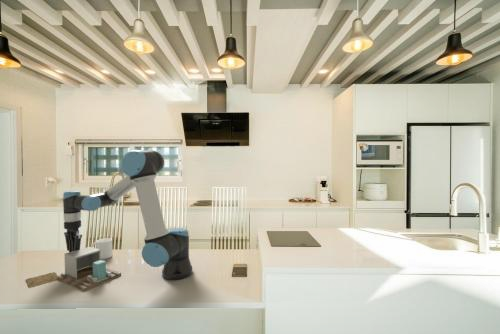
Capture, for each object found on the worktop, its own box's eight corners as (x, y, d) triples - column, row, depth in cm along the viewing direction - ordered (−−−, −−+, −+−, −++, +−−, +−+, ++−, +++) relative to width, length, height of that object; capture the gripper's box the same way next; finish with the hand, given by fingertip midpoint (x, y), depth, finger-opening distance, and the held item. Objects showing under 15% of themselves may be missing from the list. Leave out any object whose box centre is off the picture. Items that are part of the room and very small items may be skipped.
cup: (107, 259, 155) (106, 242, 155) (87, 259, 156) (87, 241, 156) (115, 254, 164) (115, 238, 163) (96, 253, 165) (96, 237, 164)
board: (121, 275, 135) (121, 268, 135) (84, 291, 119) (84, 283, 119) (93, 265, 147) (93, 259, 147) (57, 278, 131) (56, 271, 131)
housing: (100, 269, 139) (100, 249, 138) (75, 278, 128) (75, 257, 128) (89, 265, 144) (89, 246, 143) (64, 274, 133) (64, 253, 133)
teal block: (106, 277, 130) (105, 261, 129) (97, 281, 126) (97, 264, 126) (101, 275, 132) (100, 259, 131) (93, 279, 128) (92, 262, 128)
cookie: (28, 289, 122) (28, 286, 122) (25, 280, 130) (25, 278, 130) (60, 280, 130) (60, 278, 130) (54, 273, 139) (54, 271, 139)
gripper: (86, 220, 139) (88, 264, 140) (73, 217, 146) (74, 259, 147) (71, 223, 133) (72, 269, 134) (58, 220, 139) (59, 264, 140)
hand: (73, 264), depth 140 cm, fingers closed
